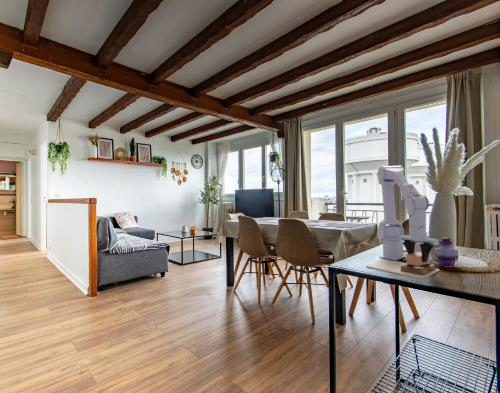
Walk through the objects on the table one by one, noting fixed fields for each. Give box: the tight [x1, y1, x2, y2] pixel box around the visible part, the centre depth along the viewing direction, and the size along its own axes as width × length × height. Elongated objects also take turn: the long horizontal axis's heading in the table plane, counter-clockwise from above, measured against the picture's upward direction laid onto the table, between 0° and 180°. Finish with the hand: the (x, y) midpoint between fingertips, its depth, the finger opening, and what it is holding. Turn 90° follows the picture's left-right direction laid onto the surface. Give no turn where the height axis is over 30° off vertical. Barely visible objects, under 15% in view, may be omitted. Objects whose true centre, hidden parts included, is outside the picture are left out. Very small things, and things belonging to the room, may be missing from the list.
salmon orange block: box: [405, 252, 431, 266], centre depth 109 cm, size 4×8×4 cm, turn 117°
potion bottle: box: [434, 236, 459, 267], centre depth 115 cm, size 9×9×12 cm
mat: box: [365, 259, 440, 280], centre depth 114 cm, size 16×22×1 cm
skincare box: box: [414, 231, 428, 253], centre depth 131 cm, size 6×4×12 cm
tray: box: [401, 262, 437, 276], centre depth 109 cm, size 12×8×2 cm, turn 127°
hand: (418, 260), depth 109 cm, fingers closed on salmon orange block, 4 cm apart
